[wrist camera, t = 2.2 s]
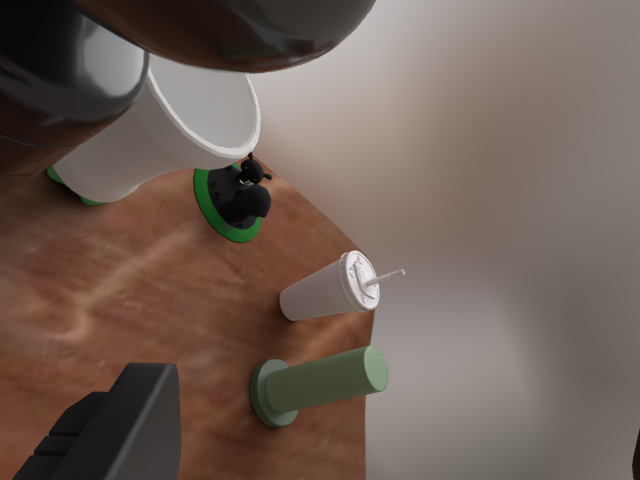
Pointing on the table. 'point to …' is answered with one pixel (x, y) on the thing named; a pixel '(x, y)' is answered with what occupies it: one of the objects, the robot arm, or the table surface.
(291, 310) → the smoothie
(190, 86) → the cup
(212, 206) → the toy figurine
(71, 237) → the table surface
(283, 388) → the post
